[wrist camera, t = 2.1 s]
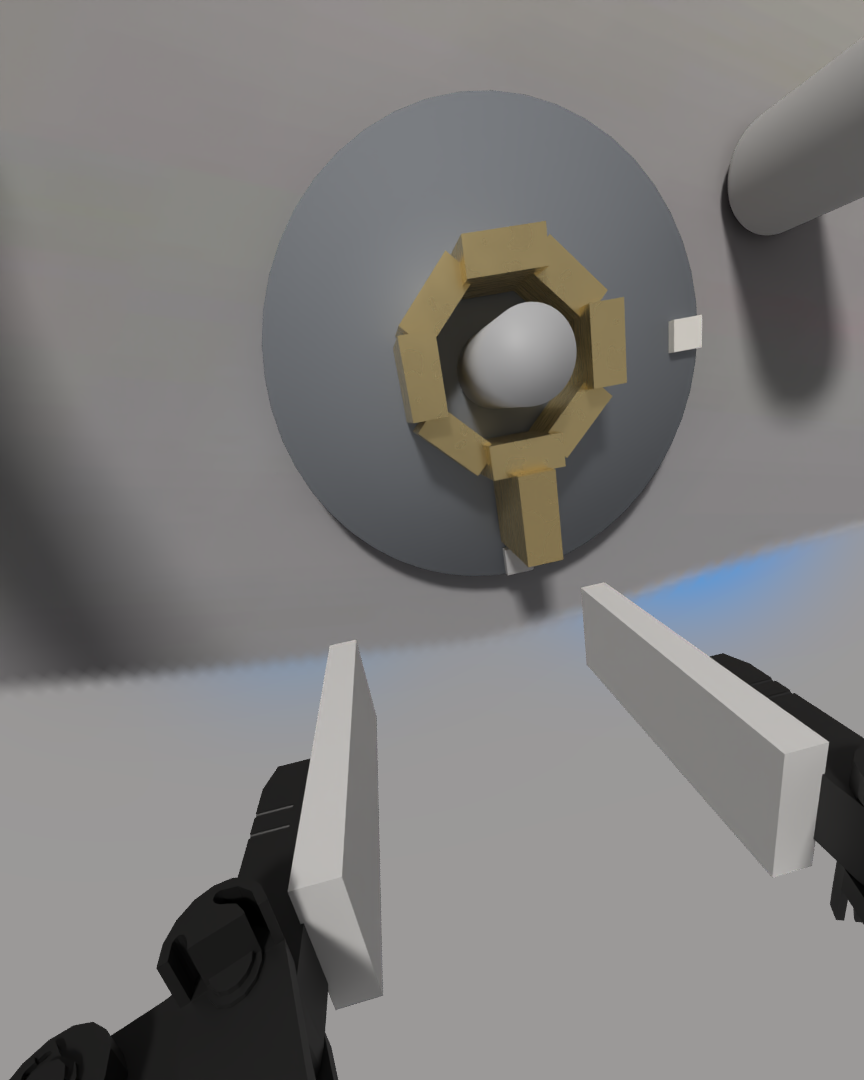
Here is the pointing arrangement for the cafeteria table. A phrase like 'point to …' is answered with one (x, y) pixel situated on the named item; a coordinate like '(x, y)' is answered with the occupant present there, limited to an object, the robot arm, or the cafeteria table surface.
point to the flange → (470, 322)
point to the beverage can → (803, 151)
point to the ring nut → (532, 456)
